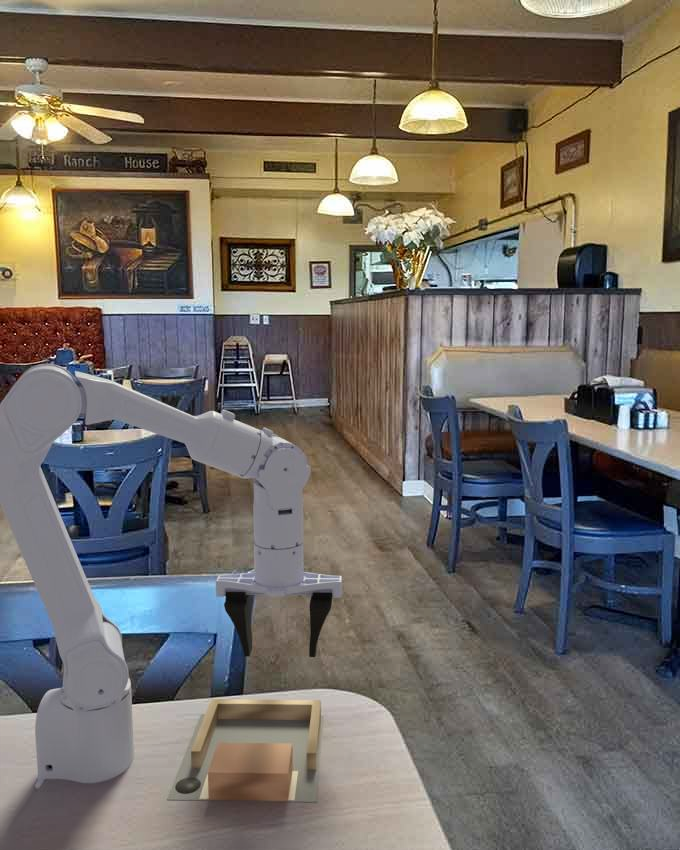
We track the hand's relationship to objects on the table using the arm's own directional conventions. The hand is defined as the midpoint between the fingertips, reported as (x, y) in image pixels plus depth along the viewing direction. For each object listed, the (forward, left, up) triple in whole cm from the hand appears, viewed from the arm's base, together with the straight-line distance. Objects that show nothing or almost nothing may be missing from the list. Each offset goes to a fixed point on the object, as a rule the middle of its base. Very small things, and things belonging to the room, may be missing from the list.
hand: (280, 652), depth 82 cm
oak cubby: (-2, -4, -9) cm, 10 cm away
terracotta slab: (-2, -11, -9) cm, 15 cm away
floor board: (-2, -6, -9) cm, 12 cm away
